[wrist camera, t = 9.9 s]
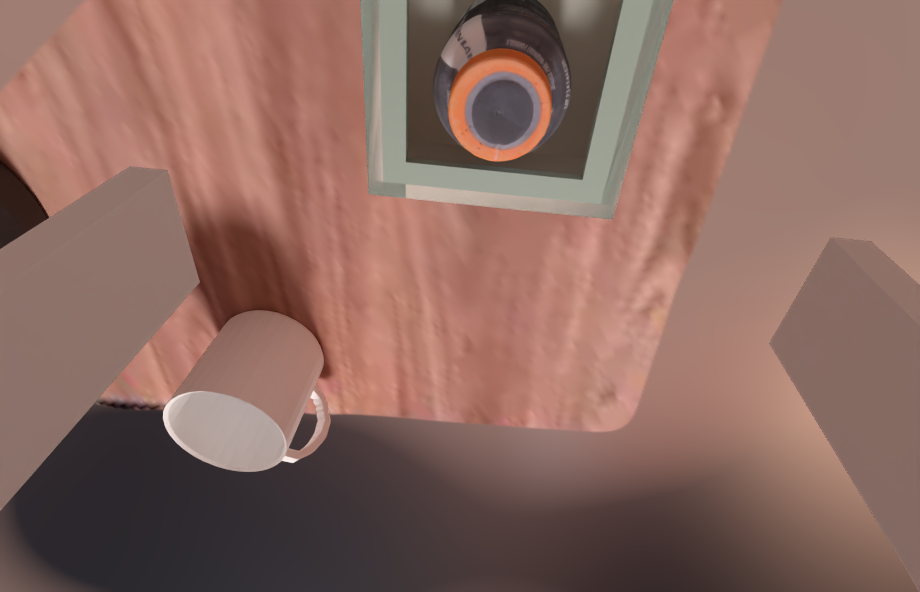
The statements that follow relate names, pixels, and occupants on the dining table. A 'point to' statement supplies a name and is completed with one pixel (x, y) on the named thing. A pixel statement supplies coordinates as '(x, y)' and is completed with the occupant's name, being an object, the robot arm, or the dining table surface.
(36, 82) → the dining table surface
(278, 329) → the mug
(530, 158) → the box
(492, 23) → the pill bottle
